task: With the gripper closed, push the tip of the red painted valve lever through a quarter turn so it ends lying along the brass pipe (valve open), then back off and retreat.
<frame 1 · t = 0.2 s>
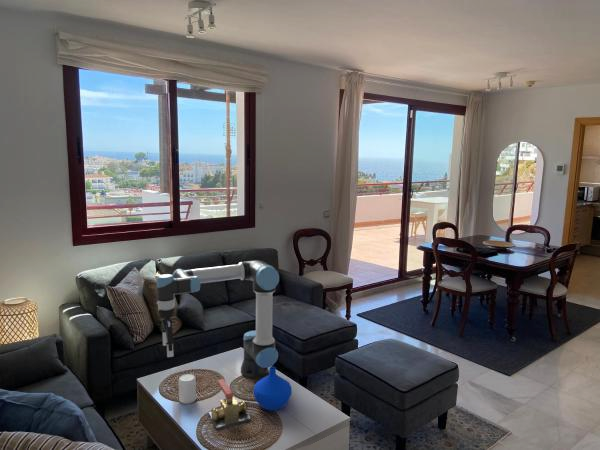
hand: (168, 350, 211), 28 cm above the table, fingers open, 13 cm apart
white cylindrical piece: (187, 400, 220), on the table
lever: (225, 388, 209), point 11 cm above the table, hinge at 0.0°
valve fixture: (229, 417, 205), on the table
vase: (272, 405, 216), on the table
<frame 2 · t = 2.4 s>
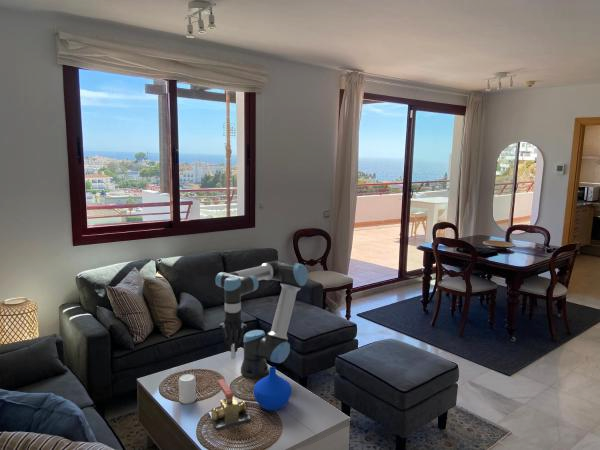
hand: (233, 357, 212), 24 cm above the table, fingers closed
nothing on the table moved.
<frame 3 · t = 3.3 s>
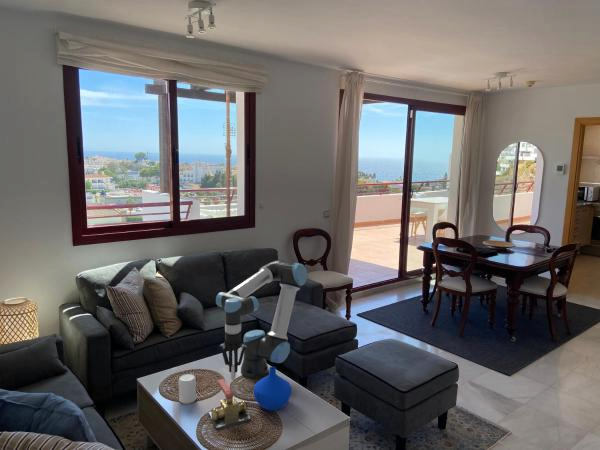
hand: (233, 378, 213), 14 cm above the table, fingers closed
nothing on the table moved.
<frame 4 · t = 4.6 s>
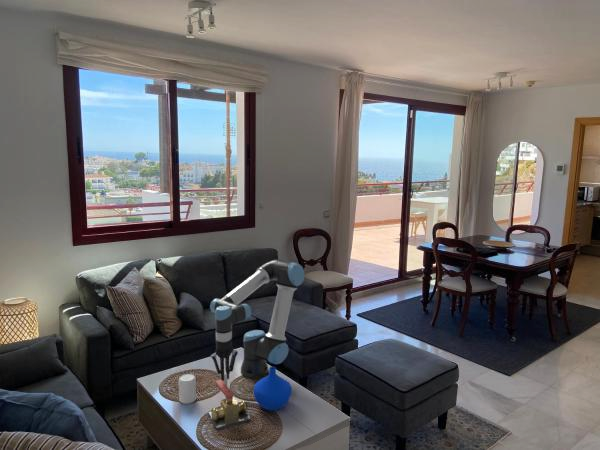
hand: (225, 385, 213), 11 cm above the table, fingers closed
lever: (224, 388, 209), point 11 cm above the table, hinge at 5.7°, touching gripper
everything else where it was.
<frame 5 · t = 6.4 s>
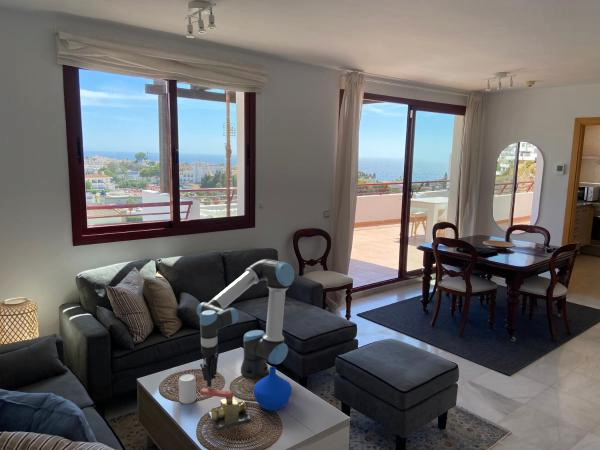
hand: (210, 391, 208), 10 cm above the table, fingers closed
lever: (217, 393, 205), point 11 cm above the table, hinge at 51.3°, touching gripper
everything else where it was.
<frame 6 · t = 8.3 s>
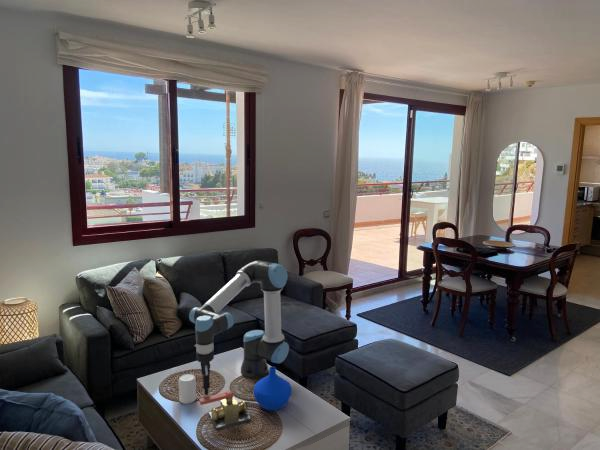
hand: (206, 399, 201), 10 cm above the table, fingers closed
lever: (216, 397, 201), point 11 cm above the table, hinge at 91.1°, touching gripper
everything else where it was.
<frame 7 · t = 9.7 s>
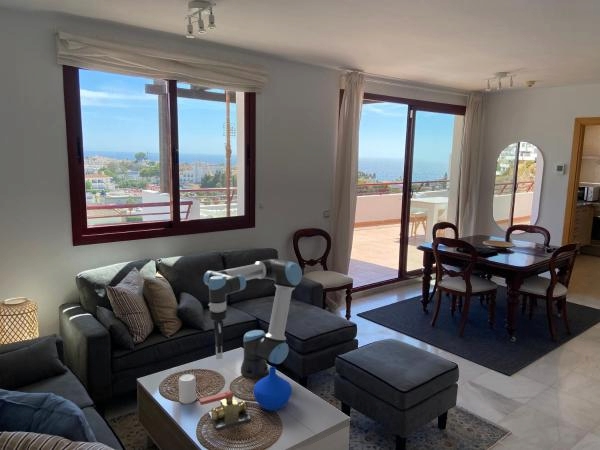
hand: (219, 358, 207), 26 cm above the table, fingers closed
lever: (216, 397, 201), point 11 cm above the table, hinge at 91.1°
everything else where it was.
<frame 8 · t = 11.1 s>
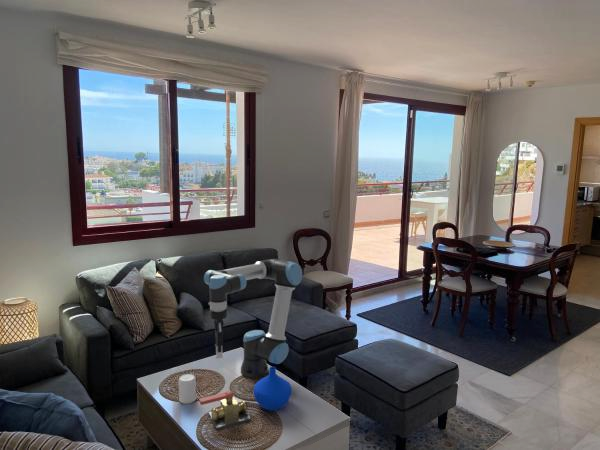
hand: (219, 357, 207), 26 cm above the table, fingers closed
nothing on the table moved.
at the end: lever at +91° (first picture: +0°) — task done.
